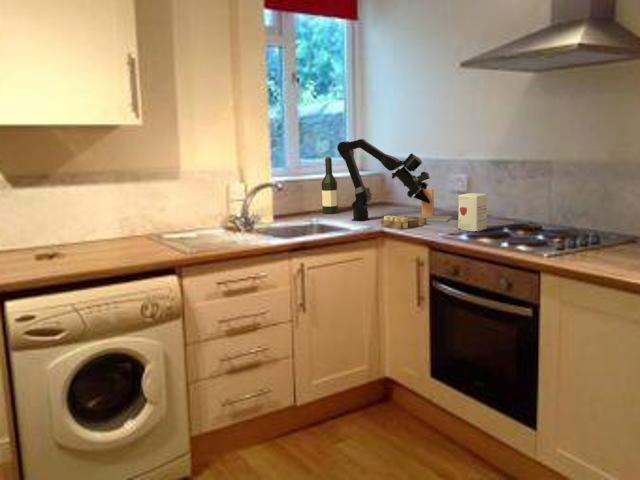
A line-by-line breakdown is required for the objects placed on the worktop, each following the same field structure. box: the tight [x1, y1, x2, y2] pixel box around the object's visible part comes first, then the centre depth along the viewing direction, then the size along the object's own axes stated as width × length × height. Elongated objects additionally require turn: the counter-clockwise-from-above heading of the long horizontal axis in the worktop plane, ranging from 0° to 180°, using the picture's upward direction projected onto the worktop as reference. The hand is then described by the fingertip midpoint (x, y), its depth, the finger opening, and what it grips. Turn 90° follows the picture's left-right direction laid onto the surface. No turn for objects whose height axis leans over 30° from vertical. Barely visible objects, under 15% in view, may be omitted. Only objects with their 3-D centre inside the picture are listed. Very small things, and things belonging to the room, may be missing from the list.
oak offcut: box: [395, 216, 409, 230], centre depth 262 cm, size 5×3×4 cm, turn 39°
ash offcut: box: [383, 215, 398, 221], centre depth 267 cm, size 5×3×4 cm, turn 39°
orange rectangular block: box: [421, 188, 435, 216], centre depth 283 cm, size 5×3×12 cm, turn 67°
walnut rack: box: [381, 215, 427, 230], centre depth 268 cm, size 12×16×4 cm
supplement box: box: [457, 192, 488, 232], centre depth 256 cm, size 9×9×15 cm
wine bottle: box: [321, 156, 339, 215], centre depth 324 cm, size 8×8×30 cm
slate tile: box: [412, 215, 453, 223], centre depth 284 cm, size 20×14×2 cm
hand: (430, 202), depth 282 cm, fingers closed on orange rectangular block, 3 cm apart
